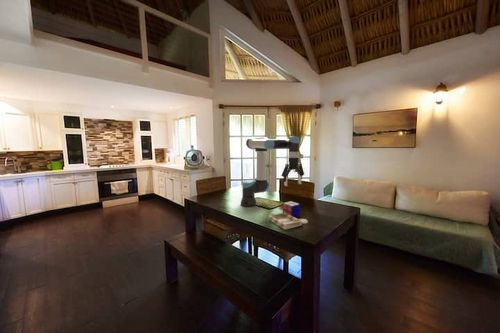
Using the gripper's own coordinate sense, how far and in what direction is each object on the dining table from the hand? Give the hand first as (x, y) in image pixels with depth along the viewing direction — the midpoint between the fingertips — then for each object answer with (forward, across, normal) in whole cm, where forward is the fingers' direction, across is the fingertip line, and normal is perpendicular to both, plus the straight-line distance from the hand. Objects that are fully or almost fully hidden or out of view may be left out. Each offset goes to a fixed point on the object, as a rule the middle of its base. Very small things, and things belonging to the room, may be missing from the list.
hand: (292, 184), depth 160 cm
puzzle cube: (+28, +6, +8) cm, 30 cm away
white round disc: (+28, +5, -7) cm, 29 cm away
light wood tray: (+28, -8, -2) cm, 29 cm away
